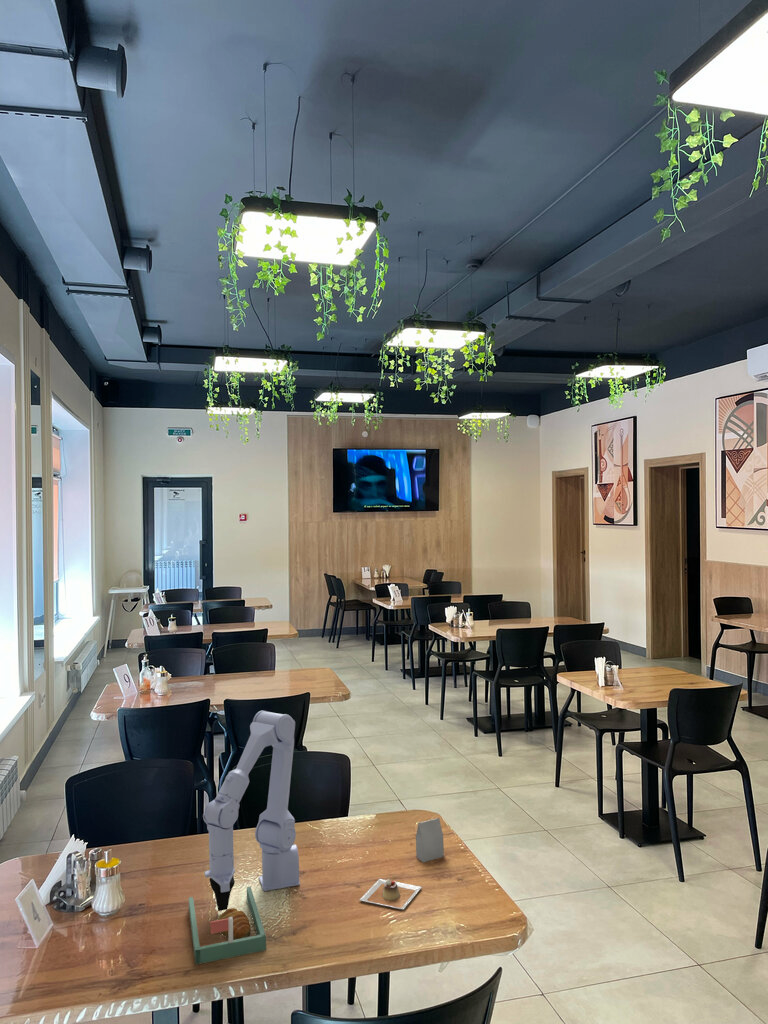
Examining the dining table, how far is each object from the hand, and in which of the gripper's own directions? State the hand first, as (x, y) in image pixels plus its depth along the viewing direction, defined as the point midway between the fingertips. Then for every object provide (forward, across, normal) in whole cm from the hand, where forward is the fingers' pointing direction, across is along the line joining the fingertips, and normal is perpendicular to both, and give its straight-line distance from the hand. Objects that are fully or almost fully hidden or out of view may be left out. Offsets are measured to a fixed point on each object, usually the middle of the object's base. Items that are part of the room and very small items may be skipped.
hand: (222, 908), depth 172 cm
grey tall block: (+2, -9, +58) cm, 59 cm away
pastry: (+2, +8, +2) cm, 9 cm away
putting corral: (+1, +7, 0) cm, 7 cm away
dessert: (+2, +7, +41) cm, 41 cm away
